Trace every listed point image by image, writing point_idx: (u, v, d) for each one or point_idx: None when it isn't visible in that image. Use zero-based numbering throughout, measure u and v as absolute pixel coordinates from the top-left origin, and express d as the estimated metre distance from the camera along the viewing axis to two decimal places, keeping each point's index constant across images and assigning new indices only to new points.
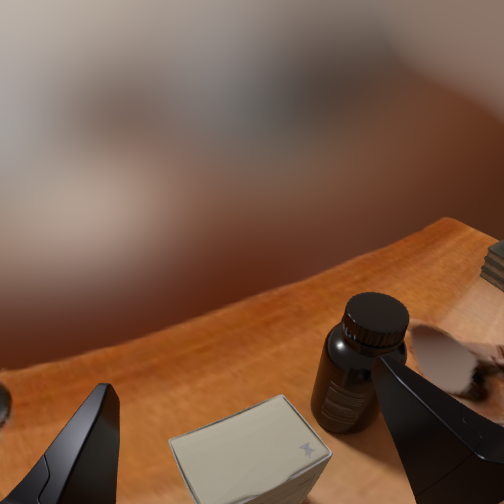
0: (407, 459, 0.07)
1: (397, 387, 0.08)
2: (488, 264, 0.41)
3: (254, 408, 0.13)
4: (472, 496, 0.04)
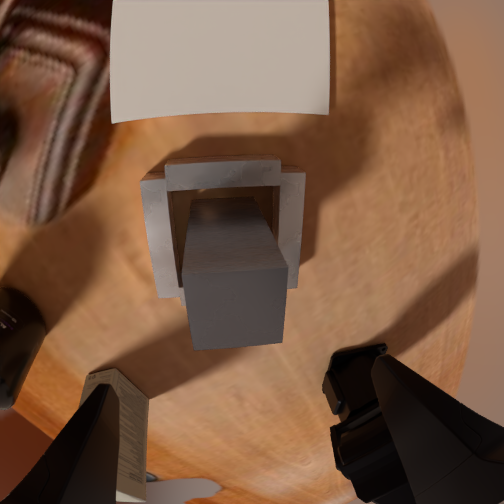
0: (407, 459, 0.07)
1: (397, 387, 0.08)
2: None
3: None
4: (472, 496, 0.04)
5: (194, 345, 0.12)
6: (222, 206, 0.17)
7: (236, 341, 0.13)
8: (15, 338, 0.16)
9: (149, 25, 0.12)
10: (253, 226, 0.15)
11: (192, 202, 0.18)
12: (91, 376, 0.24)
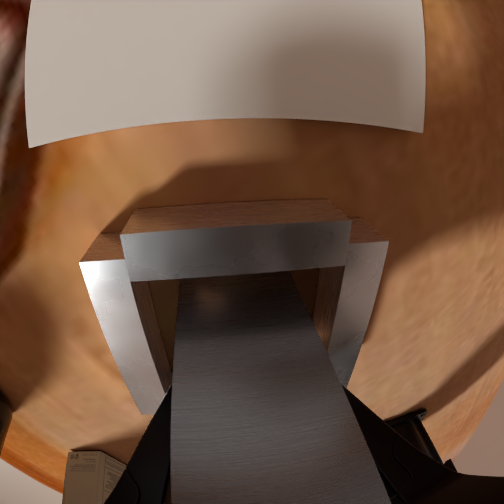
0: None
1: None
2: None
3: None
4: None
5: None
6: (237, 301, 0.09)
7: None
8: None
9: None
10: (306, 376, 0.07)
11: (182, 286, 0.10)
12: (73, 455, 0.16)
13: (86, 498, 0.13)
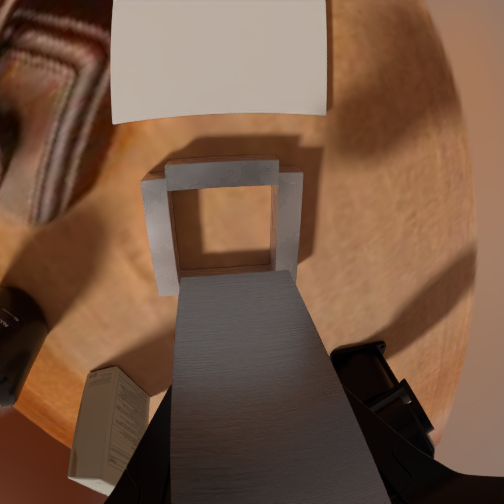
0: None
1: None
2: None
3: (81, 483, 0.15)
4: None
5: None
6: (237, 301, 0.09)
7: None
8: (18, 337, 0.17)
9: (149, 27, 0.13)
10: (306, 376, 0.07)
11: (182, 285, 0.10)
12: (92, 374, 0.25)
13: (100, 404, 0.21)
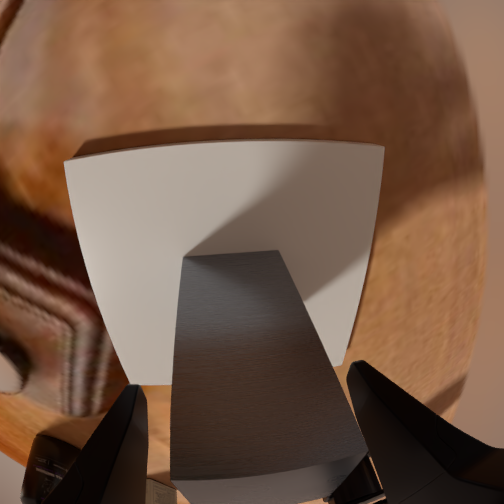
0: (381, 469, 0.07)
1: (370, 395, 0.08)
2: None
3: None
4: None
5: None
6: (232, 275, 0.11)
7: None
8: None
9: (145, 308, 0.13)
10: (290, 332, 0.08)
11: (184, 263, 0.12)
12: None
13: None
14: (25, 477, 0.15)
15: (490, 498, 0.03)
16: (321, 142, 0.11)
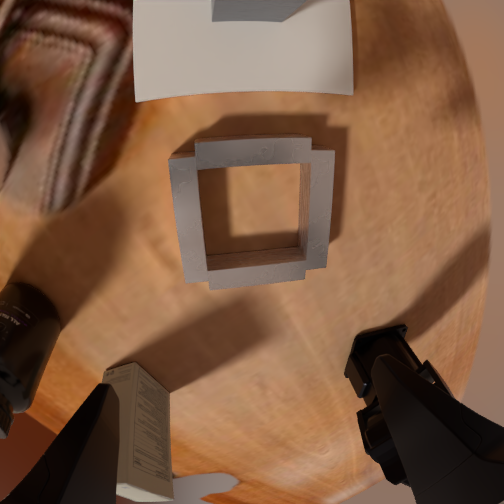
0: (407, 459, 0.07)
1: (397, 387, 0.08)
2: None
3: None
4: (472, 496, 0.04)
5: None
6: None
7: None
8: (30, 335, 0.16)
9: (173, 4, 0.12)
10: None
11: None
12: (109, 372, 0.24)
13: (121, 403, 0.20)
14: None
15: None
16: None
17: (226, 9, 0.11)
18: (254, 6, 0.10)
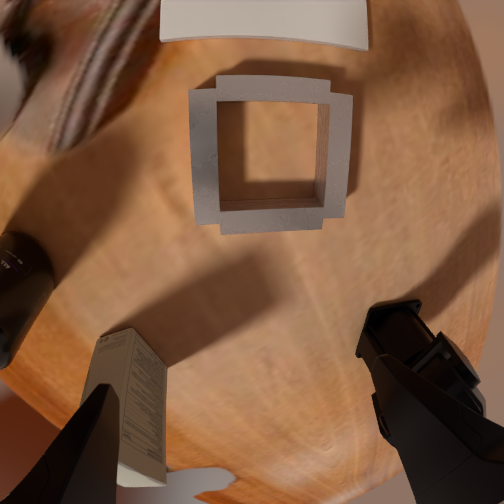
0: (407, 459, 0.07)
1: (397, 387, 0.08)
2: None
3: None
4: (472, 496, 0.04)
5: None
6: None
7: None
8: (20, 281, 0.15)
9: None
10: None
11: None
12: (103, 339, 0.23)
13: (113, 370, 0.19)
14: None
15: None
16: None
17: None
18: None
